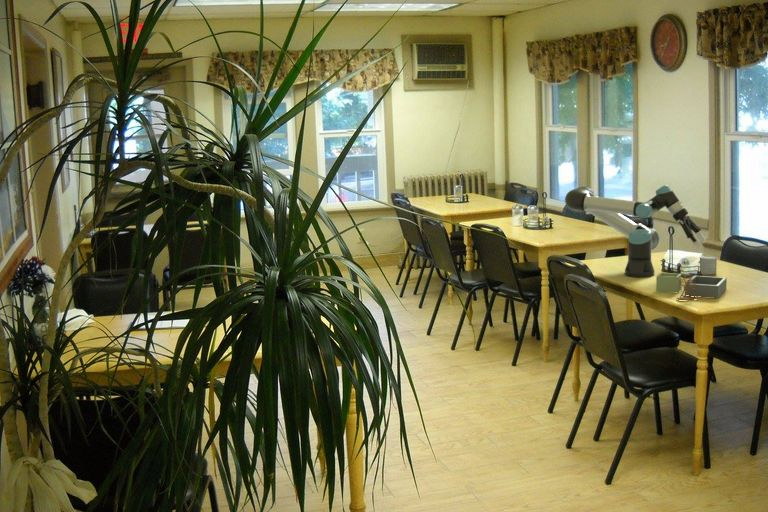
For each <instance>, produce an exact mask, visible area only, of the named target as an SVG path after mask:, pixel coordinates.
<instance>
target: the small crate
mask: <svg viewBox="0 0 768 512" xmlns="http://www.w3.org/2000/svg"><path fill="white" fill-rule="evenodd" d="M682 275H683V274H682V273H671V272H659V273H658V274H657V275H656V276H655V277H656V280H655V282H656V283H655V287H656V289H655V292H656V291H658V292H657V293H666V292H677V293H676V294H678V293H679V291H680V290H681V291H682V282H681V283H680V284H681V285H680V284H679V279H682ZM680 281H682V280H680ZM681 291H680V292H681Z"/></svg>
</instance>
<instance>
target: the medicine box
mask: <svg viewBox="0 0 768 512" xmlns="http://www.w3.org/2000/svg"><path fill="white" fill-rule="evenodd" d="M699 258H700V261H699V260H698V264H699V263H700V267H701V274H703V275H702V276H707V275H717V261H718V260H717V258H716V257H715V256H705V257H703V256H700V257H699ZM701 274H700V275H701Z"/></svg>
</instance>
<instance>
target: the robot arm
mask: <svg viewBox="0 0 768 512" xmlns="http://www.w3.org/2000/svg"><path fill="white" fill-rule="evenodd" d="M564 202H565V205H566V207H567V208H568V209H569V210H571V211H574V212H575V211H578V212H583V213H584V214H585V215H590V214H591V215H592V216H594V217H595V218H597V219H598V220H600V221H602V222H603V223H604V224H606V225H608V226H609V227H610V228H613V229H614V230H615V231H617V232H619V233H620V234H621V235H624V236H625V237H626V238H627V241H628V243H627V246H628V247H627V257H628V258H627V263H626V266H625V269H624V275H625V276H628V277H632V278H649V277H653V276H655V268H654V266H653V262H652V250H655V248H657V246H658V245H659V243H660V234H659V232H658V231H657V230H656V229H655V228H653V227H648V226H646V225H644V224H643V223H635V222H634V221H633V220H631V219H629V218H628V217H627V216H633V217H639V218H640V219H646V218H647V219H648V218H650V217H652V216H653V215H655V214H656V213H658V212H659V211H660V210H661V209H663V208H665V207H666V209H667V210H668V212H669V213H670V215H671V216H672V218H673V219H674V220H675V222H678V224H679V225H680V226H681V228H682V229H683V232H684V234H685V235H686V238H687V239H690V241H691V242H692V244H693V245H694V246H695V248H696V249H698V248H700V247H702V245H703V244H705V243H706V242H707V241H708V240H707V239H706V238H705V236H704V234H702V232H701V230H702V229H701V228H700V227H698V225H697V224H696V223H695V222H694V221H693V220H692V219H691V218H690V216H689V215H688V214H689V212H688V209H686V208H685V207H684V204H683V202H682V201H680V199H679V198H678V196H677V194H675V192H674V191H673V189H672V188H671V187H670V186H669V185H668V184H664V185H662V186H660V187H659V188H658V189H656V190H655V196H653V197H652V198H650V199H649V200H647V201H644V202H641V201H633V200H625V199H620V198H619V199H617V198H609V197H602V196H598V195H597V194H595V192H594V191H593V189H592V188H590V187H587V186H580V187H577V188H575V189H571V190H569V191H568V192H567V194H566V195H565V197H564ZM625 215H626V216H625ZM693 233H694V234H693Z"/></svg>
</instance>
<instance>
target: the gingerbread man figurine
mask: <svg viewBox="0 0 768 512" xmlns="http://www.w3.org/2000/svg"><path fill="white" fill-rule="evenodd" d="M687 276H688V277H687ZM692 277H693V276H691V274H688V273H687V274H685V275H684V276H683V279H682V278H681V279H679V284H680V283H681V284H680V285H681V287H682V286H683V290H682V293H681V294H680V297H676V299H678V300H694V299H698V300H699V297H695V296H694V295H693V293H692V291H691V286H692V285H690V289H688V284H689V282H691V279H692ZM680 280H681V281H680ZM689 280H690V281H689ZM682 283H683V284H684V285H683V284H682ZM693 283H694V282H693ZM685 284H687V289H685ZM694 284H695V283H694ZM693 287H695V288H696V284H695V285H693V286H692V288H693ZM695 288H693V289H695ZM685 290H690V291H691V293H692V295H693V296H694V297H691V296H692V295H689V293H688V292H686V294H685ZM687 293H688V295H689V296H686V295H687ZM678 300H677V301H678Z"/></svg>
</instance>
